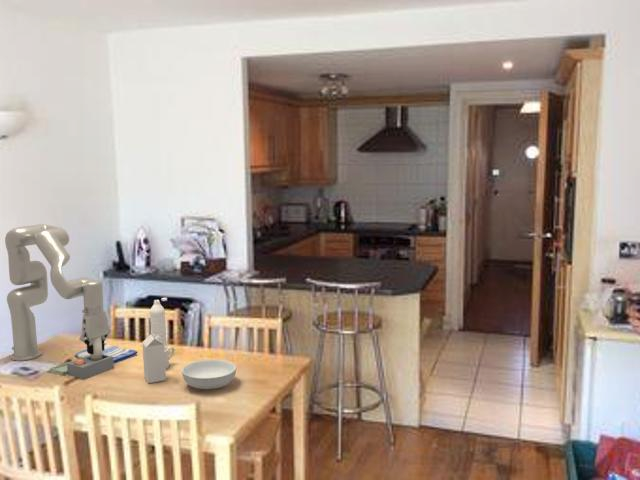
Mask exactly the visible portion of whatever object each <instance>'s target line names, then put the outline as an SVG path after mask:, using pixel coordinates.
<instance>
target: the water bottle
mask: <svg viewBox="0 0 640 480" xmlns="http://www.w3.org/2000/svg"><path fill="white" fill-rule="evenodd" d="M167 301H168V297H162V298H161V302H167ZM161 302H160V300H159V299H154V300H153V305H152V306H151V308H150V310H149V318H150V319H149V320H150V323H149V324H150V333H151V332H152V333H153V334H154V335H155V337H156V336H157V335H158V336H160V337H161V338H162V339H161V341H162V343H163V344H164V346H166V347H167V346H168V345H167V331H166V328H167V327H166V316H165V315H166V310H165V308H164V306H162V304H161Z"/></svg>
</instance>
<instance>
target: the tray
mask: <svg viewBox="0 0 640 480" xmlns="http://www.w3.org/2000/svg"><path fill="white" fill-rule="evenodd" d="M70 362H71V361H67V362H64V363H61V364H59V365H58V364H57V365H55V366H52V367H50V368H49V371H50V373H53V374H55V375H59V376H63V377H65V376H69V375H68V370H67V363H70Z"/></svg>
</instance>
